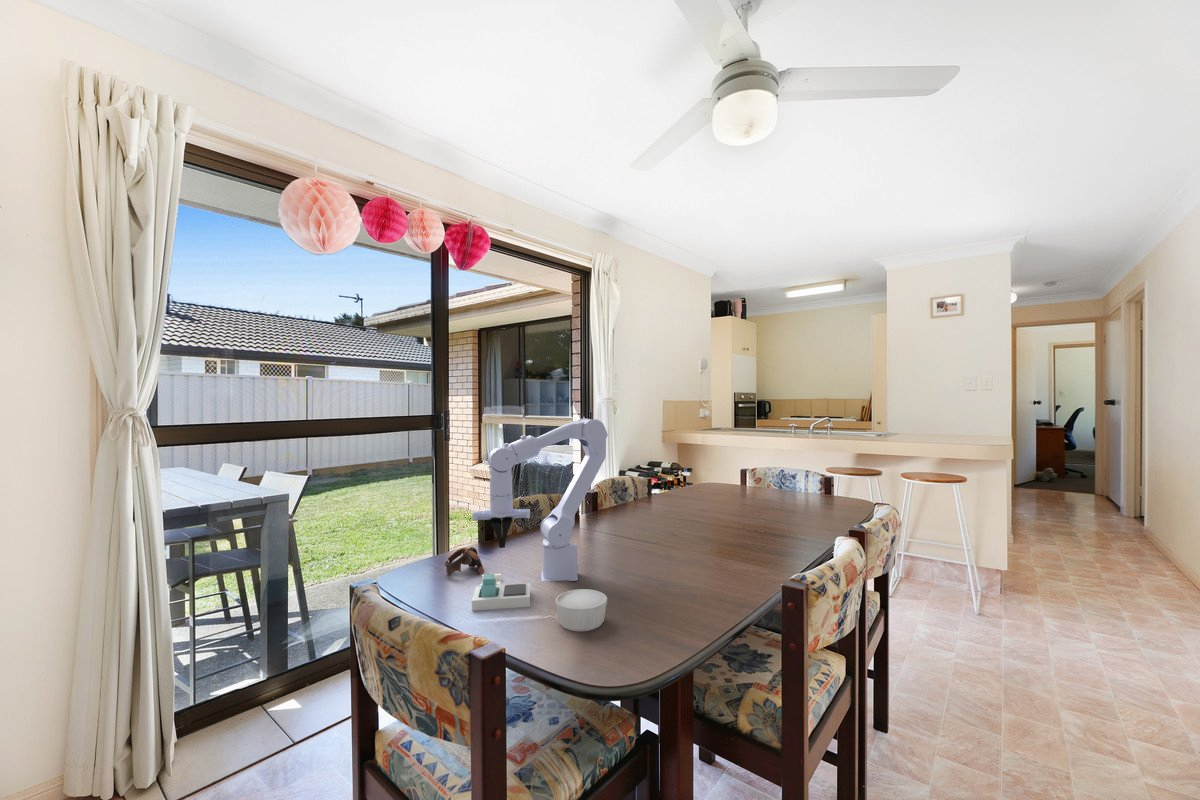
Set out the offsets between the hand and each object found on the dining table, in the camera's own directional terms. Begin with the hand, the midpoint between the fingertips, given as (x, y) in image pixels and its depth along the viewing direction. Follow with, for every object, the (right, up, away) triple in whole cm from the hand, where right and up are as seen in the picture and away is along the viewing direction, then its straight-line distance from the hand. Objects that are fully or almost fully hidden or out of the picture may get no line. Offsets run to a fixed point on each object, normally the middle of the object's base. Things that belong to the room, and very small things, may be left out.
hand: (502, 546), depth 132 cm
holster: (-3, -10, -1) cm, 10 cm away
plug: (-1, -10, -12) cm, 16 cm away
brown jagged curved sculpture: (-12, -10, +9) cm, 18 cm away
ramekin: (+21, -10, -22) cm, 32 cm away
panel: (+2, -10, -12) cm, 16 cm away
